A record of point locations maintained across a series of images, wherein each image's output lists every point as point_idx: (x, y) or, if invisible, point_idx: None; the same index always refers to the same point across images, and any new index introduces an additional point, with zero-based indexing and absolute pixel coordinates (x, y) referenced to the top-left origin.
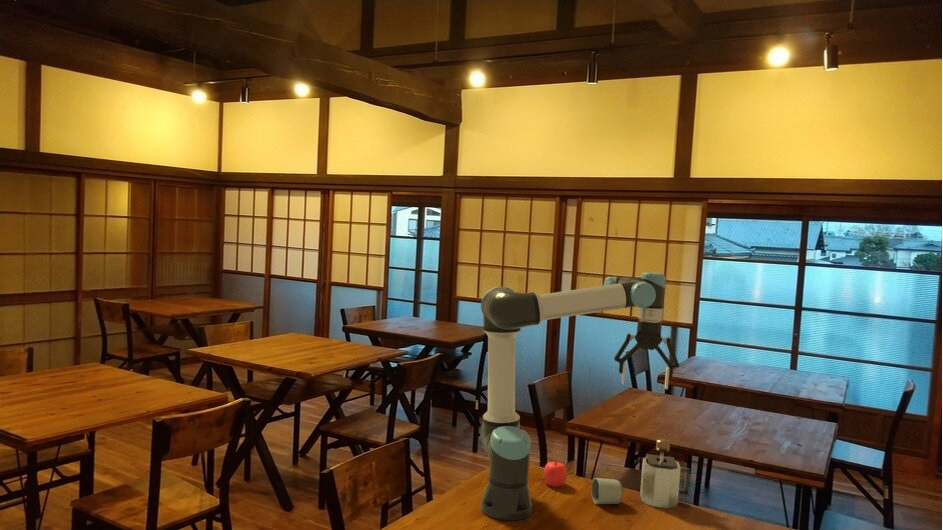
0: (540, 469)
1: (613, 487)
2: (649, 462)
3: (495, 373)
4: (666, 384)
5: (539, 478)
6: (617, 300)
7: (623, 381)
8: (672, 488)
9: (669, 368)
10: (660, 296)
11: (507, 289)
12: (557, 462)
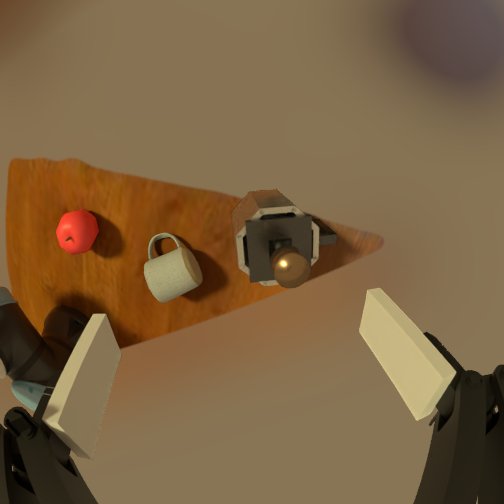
0: (51, 168)
1: (184, 292)
2: (251, 277)
3: None
4: (374, 348)
5: (60, 211)
6: None
7: (113, 366)
8: None
9: (437, 406)
10: None
11: None
12: (68, 226)
